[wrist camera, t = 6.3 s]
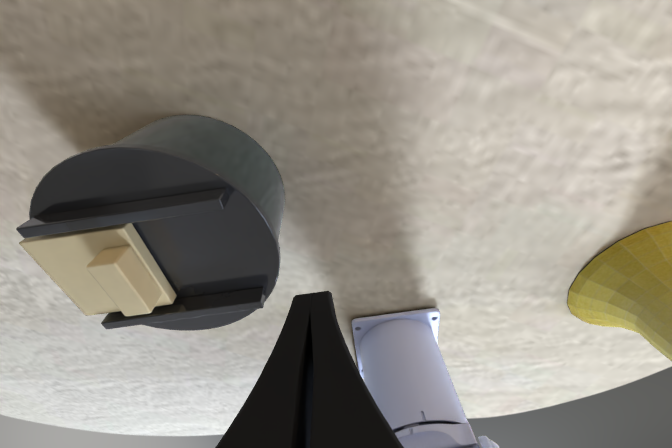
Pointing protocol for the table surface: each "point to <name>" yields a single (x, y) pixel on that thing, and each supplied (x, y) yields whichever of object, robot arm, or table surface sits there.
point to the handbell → (630, 287)
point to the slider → (103, 269)
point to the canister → (178, 214)
